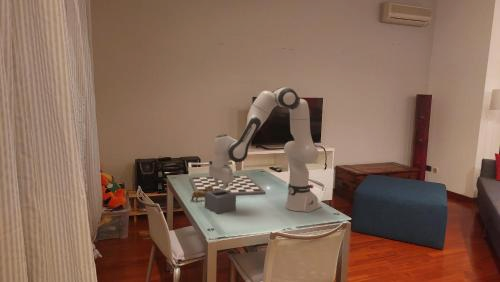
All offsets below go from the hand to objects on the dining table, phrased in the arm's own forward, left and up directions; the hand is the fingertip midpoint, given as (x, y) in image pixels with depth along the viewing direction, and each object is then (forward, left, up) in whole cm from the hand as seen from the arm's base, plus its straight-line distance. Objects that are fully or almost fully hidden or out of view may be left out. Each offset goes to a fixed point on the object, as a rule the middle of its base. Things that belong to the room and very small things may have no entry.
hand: (220, 187), depth 206 cm
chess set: (-28, -38, -14) cm, 49 cm away
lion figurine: (+2, -18, -13) cm, 22 cm away
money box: (0, 0, -13) cm, 13 cm away
